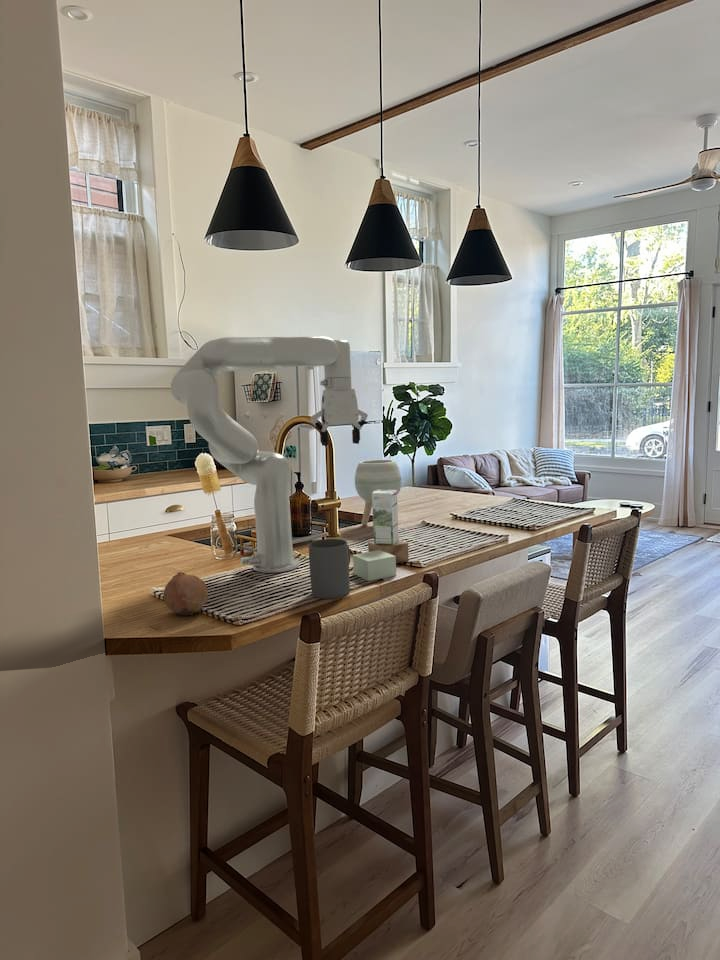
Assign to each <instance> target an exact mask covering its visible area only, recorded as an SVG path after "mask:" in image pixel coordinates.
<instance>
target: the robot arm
mask: <svg viewBox="0 0 720 960" xmlns="http://www.w3.org/2000/svg"><path fill="white" fill-rule="evenodd" d="M321 366H322V367H323V368H324V378H323V379H322V380H320V386H322V387H324V389H323V390H322V395H321V404H320V405H321V408H320V409H321V410H319V411H318V412H315V413H314V414H313V415H311V416H310V421H311V422H312V424H313V426H314V427H315V428H316V429H317V431H318V432H319V435H320V436H319V440H320V443H321V446H324V447H327V446H329V435H328V434H329V433H328V431H327V429H328V428H329V427H330V426H332V425H350V426H351V427H352V428H353V429H352V431H351V435H352V437H351V438H352V439H351V440H352V444H357V445H359V444H360V441H361V429H362V427H363V426H364V425H365V423H366V421H367V418H368V414H367V412H364V411H362V410H360V409H359V406H358V405H359V404H358V399H357V396H356V390H355V388H352V370H351V369H352V368H351V366H352V365H351V346H350V343H349V341H348V340H345V339H333V338H331V337H328V336H288V337H287V336H261V337H259V336H258V337H256V336H254V337H252V336H251V337H250V336H247V337H246V336H244V337H241V336H240V337H239V336H237V337H236V336H231V337H228V336H227V337H226V336H225V337H220V338H216V339H211V340H208V341H207V342H205V343H204V344H203V345H202V346H201V347H200V348H199V349H197V351H196V352H195V353H194V354H193V355H192V356H191V357H190V359H188V361H186V363H185V364H184V365H183V366H182V367H181V368H180V369H179V370H178V371H177V372H176V374H175V375H173V377H172V380H171V383H170V391H171V395H172V396H173V398H174V399H175V400H176V401H177V402H178V403H180V404H184V405H186V409H187V414H188V419H189V421H190V425H191V426H192V427H193V429H194V430H195V431H196V432H197V434H198V435H199V436H200V437H202V438H203V439H204V440H205V441H207V443H208V450H209V452H210V454H211V456H212V457H213V458H214V460H215V461H216V462H218V463H219V464H220V465H221V466H223V467H224V468H226V469H227V470H228V471H229V472H231V473H232V474H233V475H235V476H236V477H238V479H240V480H241V481H244V482H245V483H246V484H250V485H254V486H256V487H255V493H254V499H253V500H254V503H253V507H254V518H255V520H254V521H255V532H256V535H255V536H256V548H257V551H256V550H255V551H254V553H253V554H252V555H251V556H246V557H240V564H241V565H242V566H243V565H248V566H252V569H253V571H256V572H258V573H262V574H263V573H264V574H274V573H275V574H276V573H283V572H289V571H292V570H294V569H297V568H298V567H299V566H300V560H299V559H297V558H295V557H294V551H293V550H294V549H293V533H292V520H291V519H292V518H291V505H290V504H291V503H290V488H291V487H290V486H291V477H292V469H291V465H290V463H289V460H287V458H286V457H285V456H283V455H282V454H280V453H278V452H274V451H264V450H259V449H260V448H259V447H260V446H259V443H258V440H257V438H256V437H255V436H254V435H253V434H252V432H250V431H249V430H248V429H246V428H245V427H243V426H242V425H241V424H240V423H239V422H237V421H236V420H235V419H233V418H232V417H231V416H230V415H229V414H228V413H227V412H226V411H224V409H223V407H222V406H221V403H220V396H219V395H220V385H219V382H218V379H217V378H218V377H219V375H220V374H221V373H222V372H223V373H225V372H242V371H244V372H245V371H272V370H273V371H274V370H280V369H281V370H282V369H287V368H293V367H306V368H314V367H321ZM319 418H321V423H320V422H319V421H318V419H319ZM359 419H360V420H359Z"/></svg>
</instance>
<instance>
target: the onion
mask: <svg viewBox="0 0 720 960" xmlns="http://www.w3.org/2000/svg"><path fill="white" fill-rule="evenodd" d="M162 593H163V595H162V597H163V601H164V604H165V606H166V607H167V609H169V610H170V611H171V612H173V613H175V614H177V615H180V616H183V617H186V616H193V614H197V613H198V612H200V611H201V610H202V608H203V607H204V606H205V605H207V603H208V601H209V597H208V596H209V595H208V587H207V586H206V584H205V582H204V581H203V580H202V578H200V577H199V576H196V575H193V574H186V573H184V572H182V571H180V572H179V571H178V572H177V573H176V574H175V575H173V576H172V578H170V580H169V581H168V582H167V584H166V585H165V587H164V590H163V592H162Z"/></svg>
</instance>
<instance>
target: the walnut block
mask: <svg viewBox="0 0 720 960" xmlns="http://www.w3.org/2000/svg"><path fill="white" fill-rule="evenodd" d="M367 548H368V549H367V550H368V551H367V552H372V551H378V550H381V551H383V552H386V553H389V554H391V555H394V556H396V564H399V563H404V562H405V563H406V562H409V559H410V558H409V543H408V542H406V541H403V540H400V539H399V541H398V542H397V543H395V544H394V545H381V544H374V540H373V541H368V542H367Z"/></svg>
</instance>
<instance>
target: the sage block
mask: <svg viewBox="0 0 720 960" xmlns="http://www.w3.org/2000/svg"><path fill="white" fill-rule="evenodd" d="M352 563H353V564H352V567H353V568H352V569H353V574H354V575H355V576H358V577H360V578H362V579H364V580H366V581H368V582H371V581H375V580H380V579H386V578H390V577H395V576H397V563H396V556H394V555H391V554H389V553H386V552H383V551H381V550H378V551H372V552H369V551H367V552H362V553H356V554H352Z"/></svg>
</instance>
